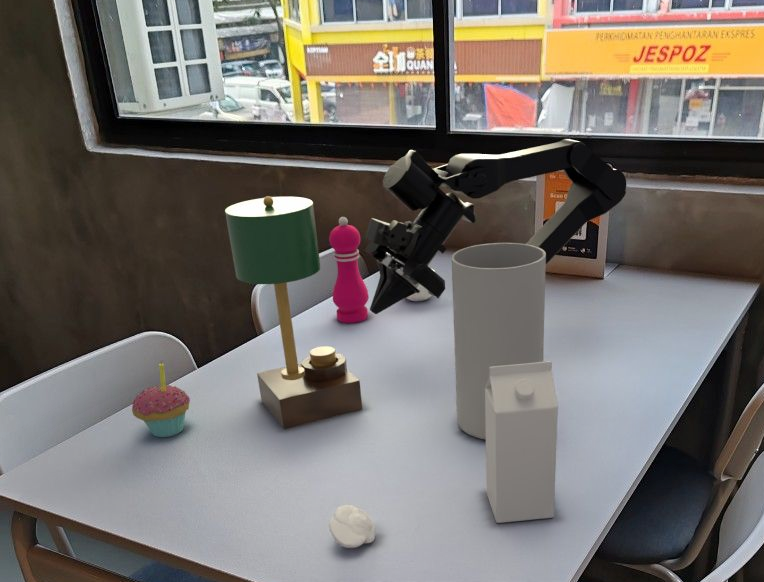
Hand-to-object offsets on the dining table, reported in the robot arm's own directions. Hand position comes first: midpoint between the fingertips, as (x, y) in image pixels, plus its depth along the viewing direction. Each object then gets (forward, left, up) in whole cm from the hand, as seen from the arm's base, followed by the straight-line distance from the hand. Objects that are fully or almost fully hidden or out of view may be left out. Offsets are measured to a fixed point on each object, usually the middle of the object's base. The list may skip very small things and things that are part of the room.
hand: (372, 312), depth 130 cm
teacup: (+13, -46, -13) cm, 49 cm away
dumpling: (-17, +41, -13) cm, 47 cm away
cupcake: (+25, +24, -13) cm, 37 cm away
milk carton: (-33, +27, -13) cm, 45 cm away
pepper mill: (+21, -30, -13) cm, 39 cm away
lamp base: (+8, +9, -13) cm, 18 cm away
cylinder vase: (-23, +6, -13) cm, 27 cm away
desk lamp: (+7, +14, -6) cm, 17 cm away
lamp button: (+6, +7, -6) cm, 11 cm away
